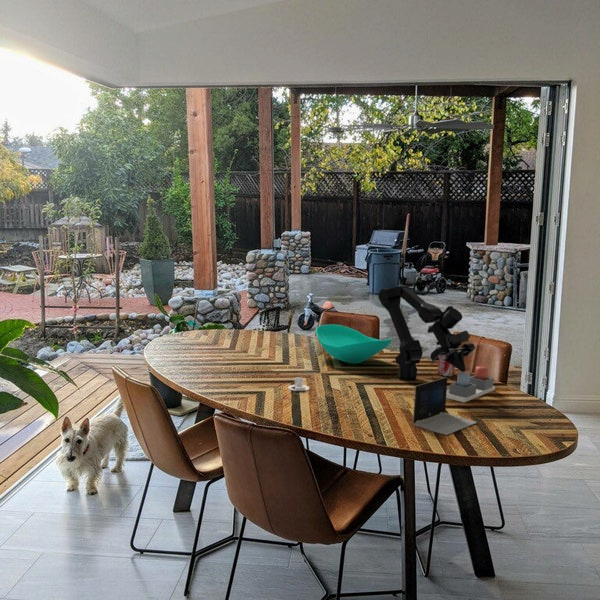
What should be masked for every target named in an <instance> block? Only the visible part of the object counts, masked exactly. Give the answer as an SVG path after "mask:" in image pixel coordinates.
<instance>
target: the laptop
mask: <svg viewBox="0 0 600 600" xmlns="http://www.w3.org/2000/svg"><path fill="white" fill-rule="evenodd" d="M447 389H448V377H447V376H444V377H442V378H439V379H436V380H435V379H434V380H431V381H428V382H425V383H421V384H418V385H415V387H414V403H413V414H412V415H413V416H412V417H413V418H412V423H413V424H412V425H413V426H414V427H418V428H421V429H424V430H426V431H430V432H431V431H432V432H433V433H438V434H442V435H445V436H447V435H450V434H453V433H456V432H458V431H460V430H462V429H463V430H464V429H465V428H468V427H470V426H473V425H475V424H477V423H478V421H476V420H472V419H468V418H465V417H462V416H458V415H454V414H451V413H448V412H446V403H447V398H446V392H447Z"/></svg>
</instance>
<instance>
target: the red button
mask: <svg viewBox="0 0 600 600" xmlns="http://www.w3.org/2000/svg"><path fill="white" fill-rule="evenodd" d="M488 369H489V368H488V367H487V366H483V365H479V366H478V365H477V366H476V367H475V374H474V375H475V378H476V379H481V380H486V379H487V377H488V371H489V370H488Z"/></svg>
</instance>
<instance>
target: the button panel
mask: <svg viewBox="0 0 600 600" xmlns="http://www.w3.org/2000/svg"><path fill="white" fill-rule="evenodd" d="M494 380H495V379H494V377H491V376H487V379H486V380H481V379H476V378H475V374H474V375H472V376H471V375H470V383H469V386H467V387H464V386H460V385H457V381H454V382H452V383H449V388H447V392H446V399H448V400H449V399H450V400H452V401H456V402H461V403H466V402H468V401H471V400H474V399H476V398H478V397H481V396H483V395H484V396H485V394H489V393H491V392H493V391H495V388H496V387H495V386H494V383H495V382H494Z"/></svg>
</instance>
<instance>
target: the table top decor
mask: <svg viewBox="0 0 600 600" xmlns="http://www.w3.org/2000/svg"><path fill="white" fill-rule="evenodd" d="M315 334H316V338H317V341H318V343H319V344H320V345H321V347H322V348H323V350H324V351H325V352H326V353H327V354H329V356H331V357H332V358H334V359H336V360H339V361H341V362H343V363H347V364H361V363H364V362H365V361H367V360H369V359H370V358H372V357H373V356H375V355H377V354H379V353H380V352H381V351H383V350H385V349H386V348H387V347H389V346H390V345H391V344H392V342H393V338H388V339H384V340H381V339H377V338H373V337H369V336H367V335H365V334H364V333H362V332H360V331H358V330H356V329H353V328H351V327H349V326H345V325H341V324H333V323H332V324H330V323H329V324H322V325H321V324H320V325H318V326H317V327H316V329H315Z"/></svg>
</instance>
